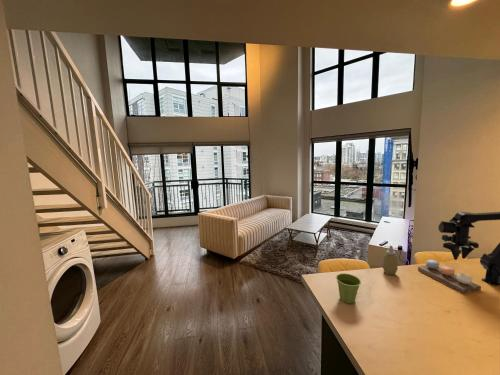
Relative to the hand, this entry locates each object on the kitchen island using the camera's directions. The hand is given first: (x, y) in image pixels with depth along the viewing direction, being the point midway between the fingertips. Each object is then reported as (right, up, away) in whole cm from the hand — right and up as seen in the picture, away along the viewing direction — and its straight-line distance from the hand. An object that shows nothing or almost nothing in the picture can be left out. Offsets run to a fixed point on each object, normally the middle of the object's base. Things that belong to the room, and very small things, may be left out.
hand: (459, 259), depth 126 cm
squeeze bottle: (-36, -12, +9) cm, 39 cm away
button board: (-8, -12, 0) cm, 14 cm away
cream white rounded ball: (-6, -12, -8) cm, 16 cm away
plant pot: (-74, -16, -15) cm, 77 cm away
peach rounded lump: (-8, -11, 0) cm, 13 cm away
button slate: (-9, -10, +8) cm, 16 cm away
